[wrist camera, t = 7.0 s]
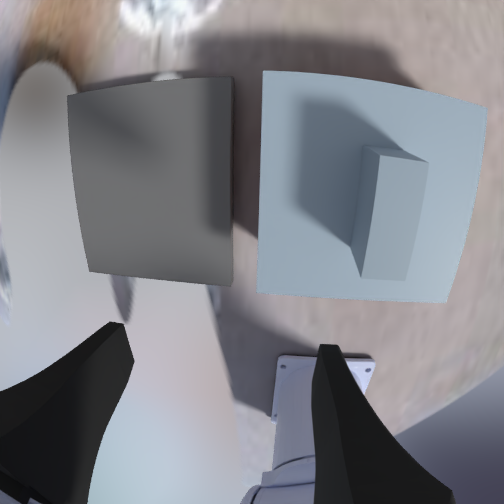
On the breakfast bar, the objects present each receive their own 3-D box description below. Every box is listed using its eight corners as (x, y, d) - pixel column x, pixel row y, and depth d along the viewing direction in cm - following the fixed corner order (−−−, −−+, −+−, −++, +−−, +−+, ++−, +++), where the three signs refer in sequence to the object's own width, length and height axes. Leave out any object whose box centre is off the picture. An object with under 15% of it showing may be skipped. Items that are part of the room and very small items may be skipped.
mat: (232, 280, 22) (230, 286, 21) (94, 266, 23) (89, 271, 22) (233, 77, 16) (231, 76, 16) (74, 95, 17) (67, 95, 17)
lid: (441, 295, 17) (464, 335, 13) (257, 285, 18) (249, 328, 14) (479, 107, 12) (522, 113, 8) (264, 72, 13) (255, 61, 10)
